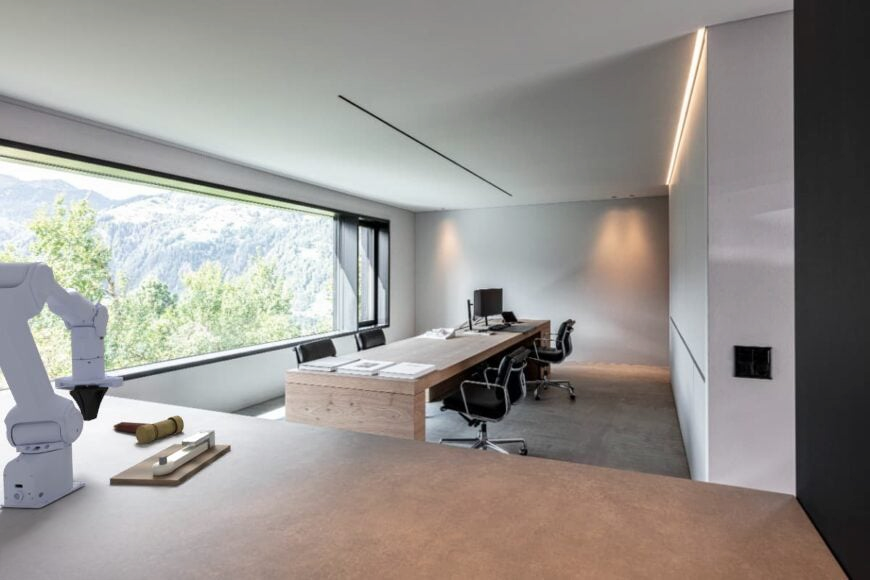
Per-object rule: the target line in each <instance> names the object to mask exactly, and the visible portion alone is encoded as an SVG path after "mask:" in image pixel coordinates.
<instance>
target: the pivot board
mask: <svg viewBox="0 0 870 580" xmlns="http://www.w3.org/2000/svg"><path fill="white" fill-rule="evenodd" d="M185 447H187V446H182V443H173V444H172V445H170V446H168V447H166V448H164V449H162V450H161V451H158V452H156V453H155V454H153V455H151V456H149V457H147V458H146V459H144V460H142V461H140V462H137V463H136V464H133V466H130V467H129V468H126V469H125V470H123V471H121V472H119V473H117V474H116V475H114V476H112V477H109V484H112V485H113V484H114V485H115V484H116V485H118V484H119V485H120V484H121V485H153V486H157V485H158V486H179V485H180V484H182V483H183V482H184V481H186V480H187V479H189V478H191V477H192V476H193V475H196V473H198V472H199V471H201V470H202V469H203V468H206V467H207V466H208V465H210V464H211V463H213V462H214V461H216V460H217V459H218V458H220V457H222V456H223V455H225V454H226V453H227V452H229V451H231V444H215V446H214V447H212V448H210V449H207V450H205V451H204V452H202V453H200V454H199V455H197V456H195V457H194V458H192V459H190V460H189V461H187V462H186V463H184V464H182V465H181V466H179V467H177V468H176V469H174V470H173V471H172V472H170V473H168V474H164V475H153V464H155V463H157V462H159V457H160V456H163V455H167V457H169V456H170V455H172V454H174V453H176V452H178V451H179V450H181V449H183V448H185Z"/></svg>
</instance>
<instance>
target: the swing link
mask: <svg viewBox="0 0 870 580" xmlns="http://www.w3.org/2000/svg"><path fill="white" fill-rule="evenodd" d="M207 449H208V442H201V443H199V444H197V445H196V446H187V447H185V448H183V449H181V450H179V451H178V452H176V453H174V454H172V455H170V456H169V457H167V455H163V456H160V457H159V462H157V463H155V464H153V475H164V474H168V473H170V472H172V471H173V470H174V469H176V468H177V467H179V466H181V465H182V464H184V463H186V462H187V461H189V460H190V459H192V458H194V457H195V456H197V455H199V454H200V453H202V452H204V451H205V450H207Z"/></svg>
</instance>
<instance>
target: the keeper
mask: <svg viewBox="0 0 870 580" xmlns="http://www.w3.org/2000/svg"><path fill="white" fill-rule="evenodd" d="M215 432H216V430H215V429H214V430H213V429H202V430H200V431H198V432H197V433H195V434H193V435H190V436H189V437H187V438H185V439H183V440H182V441H181V444H182V446H196V445H197V444H199V443H201V442H208V449H210V448H212V447H214V446H215V445H216V436H215V435H216V433H215Z"/></svg>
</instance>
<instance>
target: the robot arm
mask: <svg viewBox="0 0 870 580" xmlns="http://www.w3.org/2000/svg"><path fill="white" fill-rule="evenodd" d="M46 303H47V308H48V310H49V312H51V313H52V314H54V315H55V316H57V317H59V318H61V320H62V321H63V323H64V325H65V328H66V329H67V330H70V340H71V341H70V342H71V344H70V346H71V373H72V374H71V375H72V376H61V377H56V378H54V387H55V388H62V387H65V388H66V387H67V388H68V387H69V388H70V387H71V388H72V387H73V389H72V390H69V392H68V393H69V395H70V396H71V398H72V399H73V400H74V401H75V403H76V405H77V406H78V408H77V407H76V405H75V403H74V401H73V400H71V399H69V398H67V397H64V396H62V395H59V394H58V393H57V394H56V393H55V391H54V387H53V385H52V383H51V380H50V378H49V375H48V372H47V370H46V367H45V365H44V362H43V359H42V357H41V355H40V351H39V349H38V347H37V344H36V341H35V338H34V336H33V334H32V331H31V328H30V326H29V323H28V322H29V320H30V319H33V318H35V317H36V316H39V315H40V314H41V313H42V311H43V308H44V307H45V304H46ZM109 316H110V314H109V312H108V308H107V307H106V305H103V304H102V303H100V302H97V303H96V302H95V303H94V302H92V301H91V300H89V299H88V298H87V297H86V296H84V295H83V294H82V293H80V291H79V292H78V289H77V288H75V287H66V288H64V287H63V286H61V285H60V284H59V283H58V282H57V281H56V280H55V274H54V269H53V268H52V267H51V266H49V265H48V264H47V263H46V262H44V261H41V260H39V261H38V260H36V261H34V262H33V261H31V262H29V261H27V262H20V261H19V262H0V370H1V372H2V374H3V377H4V380H5V381H6V383H7V385H8V388H9V390H10V393H11V394H12V397H13V400H14V402H15V405H14V406H13V407H12V408H10V410H9V411H8V413H7V414H6V416H5V418H4V420H3V422H4V424H5V429H6V432H5V435H6V440H7V441H8V443H9V445H10V446H11V447H13V448H15V450H16V451H15V452H16V453H19V455H18V456H16V457H15V458H13V459H12V460H10V461H8V462H7V463H6V464H5V466H4V469H3V472H2V473H3V475H2V477H3V502H1V503H0V507H1V508H21V509H22V508H24V509H26V508H27V509H40V508H43V507H45V506H48V505H49V504H51V503H53V502H55V501H57V500H59V499H61V498H63V497H64V496H66V495H69V494H70V493H72V492H74V491H76V490H78V489H80V488H82V487H84V486H86V482H85V481H74V470H73V468H74V467H73V443H75V441H77V440H78V438H79V437H80V436H81V435H82V432H83V430H84V422H90V421H93V420H96V419H98V414H99V410H100V408H101V404H102V401H103V399H104V397H105V395H106V393H107V392H108V390H109V389H110V388H113V389H114V388H115V389H117V388H120V387H123V386H124V377H123V376H113V375H108V374H107V373H106V367H105V365H106V362H105V336H107V327H108V323H109Z"/></svg>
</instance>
